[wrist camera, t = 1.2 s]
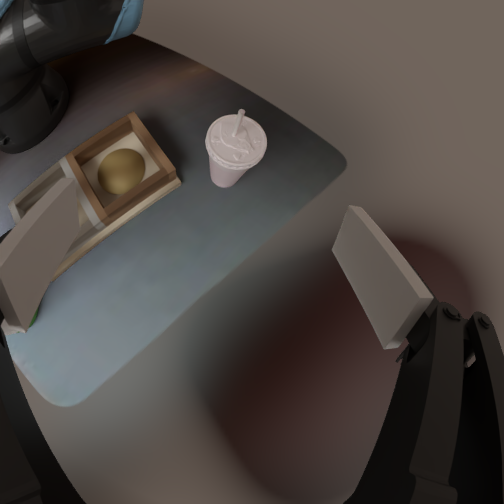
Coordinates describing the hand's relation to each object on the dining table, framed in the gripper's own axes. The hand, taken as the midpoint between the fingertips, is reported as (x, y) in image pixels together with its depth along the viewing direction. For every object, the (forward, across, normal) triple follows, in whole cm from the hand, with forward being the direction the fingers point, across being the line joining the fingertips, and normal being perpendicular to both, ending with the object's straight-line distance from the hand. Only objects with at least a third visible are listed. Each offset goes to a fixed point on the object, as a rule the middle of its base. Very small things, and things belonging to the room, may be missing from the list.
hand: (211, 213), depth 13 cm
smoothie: (+25, +3, -7) cm, 26 cm away
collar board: (+22, -15, -10) cm, 28 cm away
